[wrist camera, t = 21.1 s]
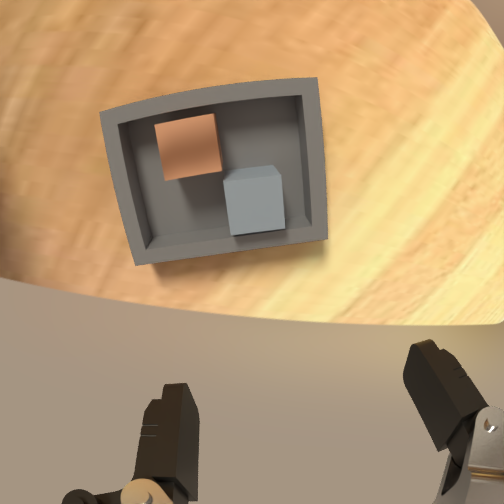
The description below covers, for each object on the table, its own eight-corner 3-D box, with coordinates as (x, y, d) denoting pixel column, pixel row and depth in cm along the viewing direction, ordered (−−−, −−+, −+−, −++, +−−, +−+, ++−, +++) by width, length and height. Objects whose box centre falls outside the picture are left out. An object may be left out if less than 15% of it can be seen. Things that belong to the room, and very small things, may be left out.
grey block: (223, 170, 31) (223, 182, 26) (273, 165, 31) (281, 175, 27) (230, 217, 33) (230, 235, 29) (277, 211, 33) (285, 228, 29)
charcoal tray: (113, 111, 28) (99, 112, 24) (306, 80, 28) (317, 77, 25) (144, 249, 35) (135, 265, 31) (317, 225, 35) (327, 239, 32)
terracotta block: (165, 122, 28) (154, 124, 24) (215, 113, 28) (213, 113, 24) (174, 169, 31) (165, 180, 26) (223, 161, 31) (221, 170, 26)
